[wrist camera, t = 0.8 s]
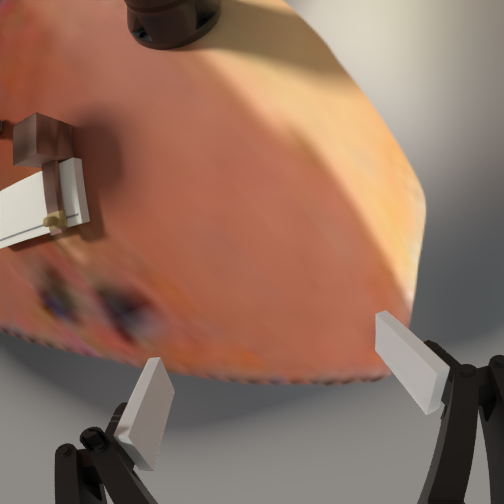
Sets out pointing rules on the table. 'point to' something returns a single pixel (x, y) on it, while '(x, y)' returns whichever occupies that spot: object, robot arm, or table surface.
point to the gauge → (45, 160)
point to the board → (41, 204)
